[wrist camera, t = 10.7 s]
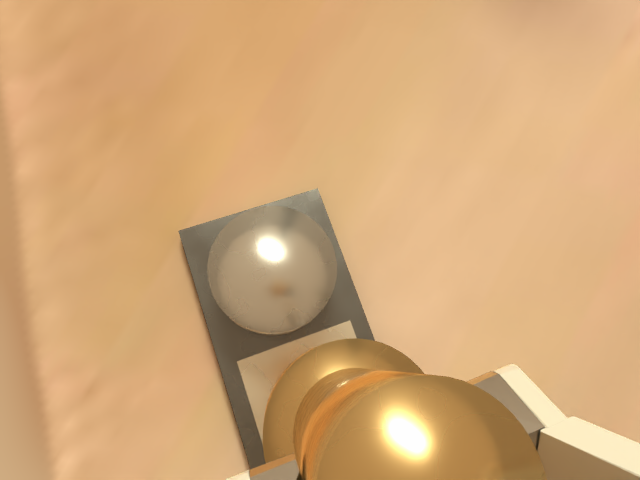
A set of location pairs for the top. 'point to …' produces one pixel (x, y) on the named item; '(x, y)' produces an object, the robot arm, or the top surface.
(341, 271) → the carrier plate
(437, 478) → the gold pawn piece
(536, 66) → the top surface
